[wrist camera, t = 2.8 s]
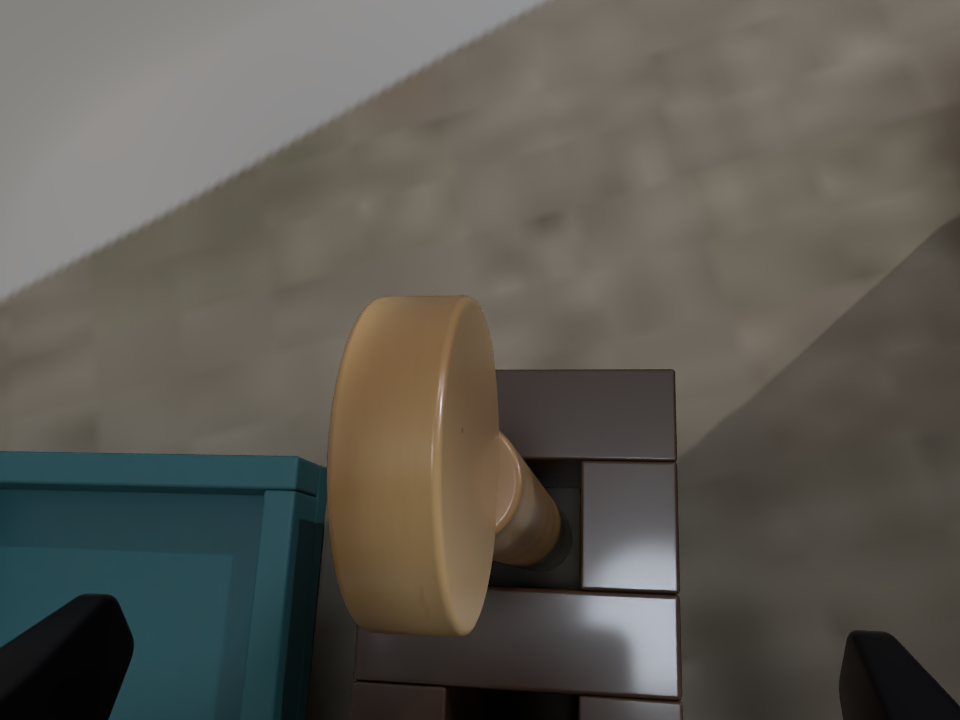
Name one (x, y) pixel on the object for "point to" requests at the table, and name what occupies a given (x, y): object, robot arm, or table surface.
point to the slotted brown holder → (603, 568)
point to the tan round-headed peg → (427, 472)
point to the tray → (174, 570)
